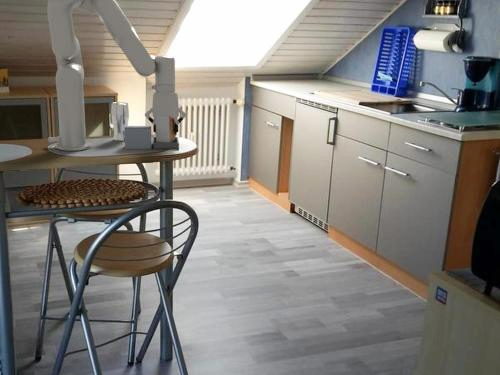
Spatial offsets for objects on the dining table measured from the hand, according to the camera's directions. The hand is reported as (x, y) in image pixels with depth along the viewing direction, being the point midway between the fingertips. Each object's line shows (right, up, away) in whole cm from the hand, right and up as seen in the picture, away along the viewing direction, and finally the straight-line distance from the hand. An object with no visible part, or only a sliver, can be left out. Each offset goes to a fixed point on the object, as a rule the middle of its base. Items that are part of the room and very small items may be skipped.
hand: (165, 133), depth 236 cm
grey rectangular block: (-10, -6, -2) cm, 12 cm away
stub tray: (0, -5, +1) cm, 5 cm away
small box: (0, -3, +1) cm, 3 cm away
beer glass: (-20, -2, +11) cm, 23 cm away
